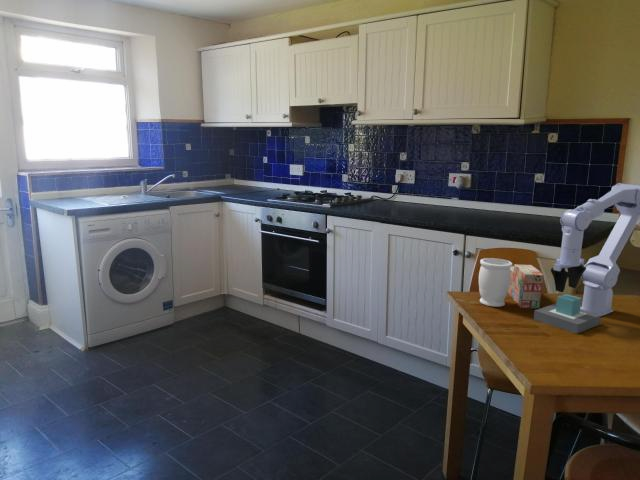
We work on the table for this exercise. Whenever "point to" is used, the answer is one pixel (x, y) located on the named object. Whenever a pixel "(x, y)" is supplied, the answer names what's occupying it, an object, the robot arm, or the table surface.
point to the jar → (494, 281)
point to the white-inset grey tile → (567, 319)
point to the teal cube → (568, 304)
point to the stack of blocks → (526, 285)
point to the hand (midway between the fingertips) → (566, 289)
